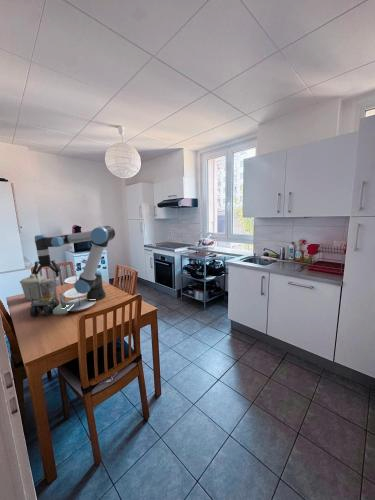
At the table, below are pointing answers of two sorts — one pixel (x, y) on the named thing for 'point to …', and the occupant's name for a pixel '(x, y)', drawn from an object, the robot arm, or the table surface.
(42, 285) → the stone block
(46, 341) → the table surface
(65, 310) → the tray
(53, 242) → the robot arm
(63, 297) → the pin
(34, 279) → the canister
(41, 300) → the trolley
